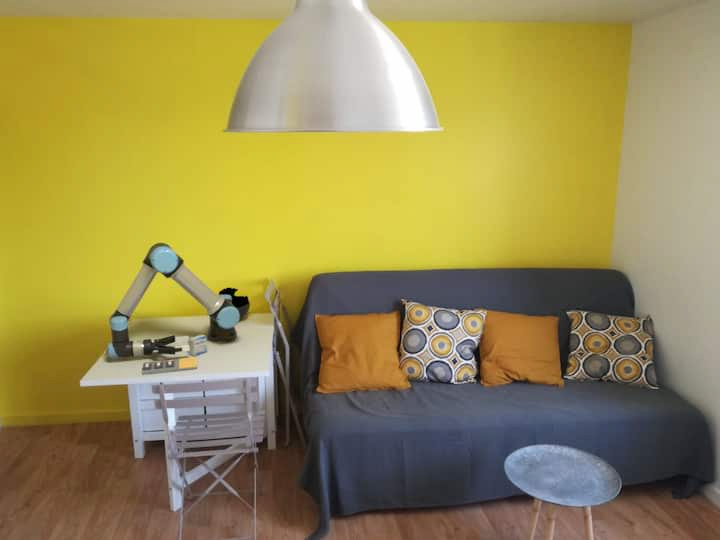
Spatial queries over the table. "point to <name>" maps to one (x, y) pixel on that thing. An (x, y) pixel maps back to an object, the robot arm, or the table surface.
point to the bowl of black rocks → (237, 301)
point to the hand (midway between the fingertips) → (189, 343)
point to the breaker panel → (169, 365)
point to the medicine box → (197, 345)
